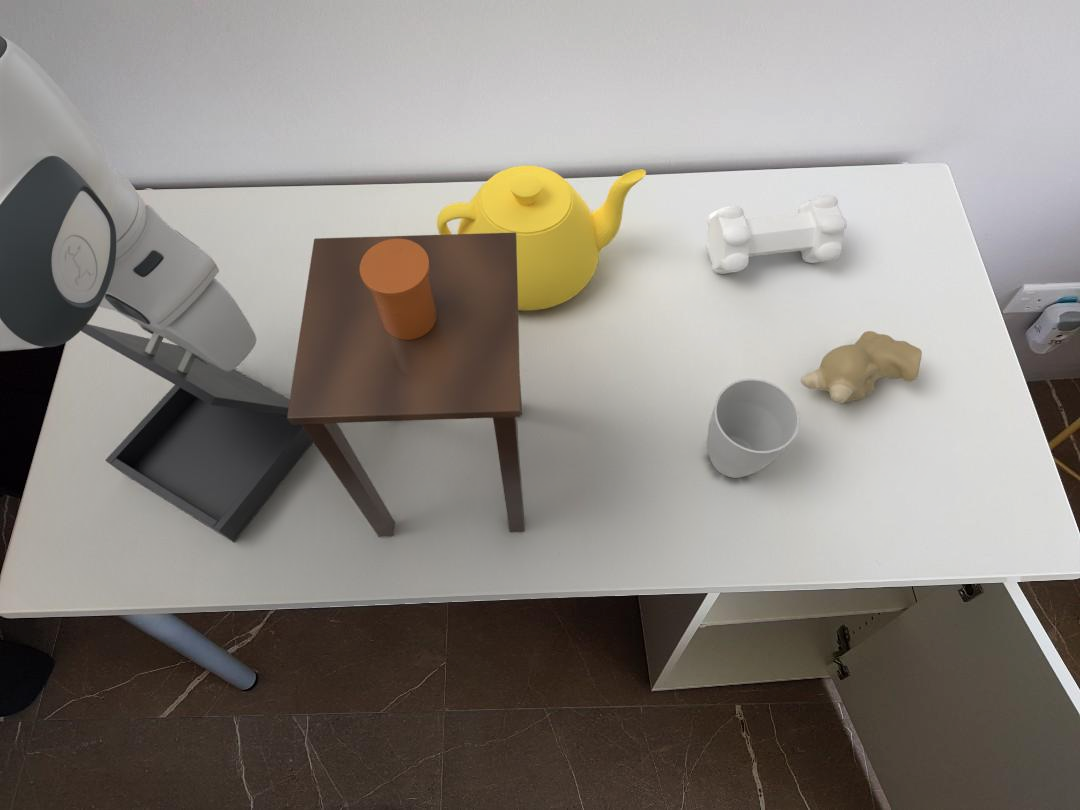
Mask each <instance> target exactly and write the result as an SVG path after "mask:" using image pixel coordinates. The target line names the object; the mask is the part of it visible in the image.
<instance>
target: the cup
mask: <svg viewBox="0 0 1080 810" xmlns="http://www.w3.org/2000/svg"><path fill="white" fill-rule="evenodd" d="M799 427H800V415H799V411H798V408H797V406H796V403H795V402H794V400H793V399H792V397H791V396H790V395H789V394H788V393H787V392H786V391H785V390H784V389H782V388H781V387H780V386H779V385H777V384H775V383H772V382H770V381H767V380H765V379H760V378H743V379H742V378H741V379H738V380H735V381H733V382H731V383H729V384H728V385H726V386H725V387H724V388H722V390H721V391H720V392H719V393H718V395H717V397H716V400H715V403H714V406H713V409H712V413H711V416H710V418H709V423H708V429H707V442H706V443H707V451H708V455H709V459H710V462H711V464H712V466H713V467H714V469H715V470H716V471H717V472H719V473H720V474H721V475H723V476H726V477H728V478H735V479H736V478H737V479H738V478H743V477H746V476H751V475H754V474H755V473H758V472H759V471H761V470H763V469H764V468H765V467H766V466H768V465H770V464H771V463H772V462H773V461H774V460H776V459H777V458H778V457H779V456H780V455H781V454H782V452H783V451H784V450H786V448H787V447H788V446H789V445H790V443H792V442H793V440H794V439H795V437H796V436H797V433H798V431H799Z"/></svg>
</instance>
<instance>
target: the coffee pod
mask: <svg viewBox="0 0 1080 810" xmlns="http://www.w3.org/2000/svg"><path fill="white" fill-rule="evenodd" d="M429 269H430V263H429V258H428V256H427V253H426V252H425V250H424V249H423V248H422V247H421V246H420V245H418V244H417V243H415V242H412V241H410V240H406V239H390V240H386V241H382V242H380V243H378V244H376V245H374V246H373V247H371V248H370V249H369V250H368V251H367V252H366V253H365V255H364V256H363V258H362V260H361V263H360V275H361V278H362V280H363V282H364V284H365V285H366V287H367V288H368V289H370V290H371V292H372V295H373V298H374V301H375V303H376V306H377V309H378V312H379V315H380V317H381V320H382V323H383V326H384V328H385V330H386V331H387V332H388V333H389V334H390V335H392V336H393V337H395V338H398V339H403V340H412V339H416V338H419V337H422V336H424V335H425V334H427V333H428V332H429V331H430V330H431V329H432V327H433V326H434V324H435V322H436V317H437V313H436V308H435V304H434V300H433V295H432V291H431V287H430V283H429V278H428V274H429Z"/></svg>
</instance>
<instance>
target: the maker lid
mask: <svg viewBox="0 0 1080 810" xmlns="http://www.w3.org/2000/svg"><path fill="white" fill-rule="evenodd" d="M80 332H81V333H83V334H85V335H87V336H88V337H90V338H92V339H93V340H96V341H98V342H99V343H101V344H103V345H104V346H106V347H108V348H110V349H112V350H113V351H115V352H117V353H119V354H121V355H122V356H124V357H126V358H127V359H128V360H131V361H133V362H134V363H136V364H138V365H140V366H142V367H143V368H145V369H147V370H149V371H150V372H152V373H154V374H155V375H157V376H159V377H160V378H163V379H165V381H168V382H169V383H171V384H173V385H177V386H178V387H180V388H182V389H184V390H185V391H187V392H189V393H191V394H192V395H194V396H196V397H198V398H200V399H201V400H203V401H205V402H207V403H208V404H210V405H214V406H222V407H230V408H237V409H245V410H253V411H260V412H268V413H276V414H283V415H288V408H289V402H290V398H288V397H287V396H285V395H283V394H281V393H279V392H277V391H276V390H274V389H272V388H269V387H268V386H266V385H264V384H262V383H261V382H259V381H257V380H255V379H253V378H251V377H249V376H248V375H246V374H244V373H242V372H240V371H239V370H237V369H236V368H235V369H233V370H232V371H228V372H227V371H224V370H222V369H220V368H218V367H217V366H215V365H213V364H211V365H207V364H205V363H204V362H202V361H200V360H198V359H197V358H195V357H194V355H193V354H192V353H191V352H189V351H188V350H186V349H184V348H182V347H180V346H178V345H177V344H175V343H169V342H165V341H163V340H164V339H165V338H164V337H162V336H160V335H158V334H156V333H155V332H154V333H153V334H151V337H150V338H149V337H143V336H139V335H136V334H131V333H127V332H123V331H118V330H116V329H115V330H114V329H110V328H106V327H101V326H99V325H98V326H97V325H93V324H89V323H87V324H86V326H85V327H84V328H83V329H82V330H81V331H80Z"/></svg>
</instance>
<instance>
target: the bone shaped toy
mask: <svg viewBox="0 0 1080 810" xmlns="http://www.w3.org/2000/svg"><path fill="white" fill-rule="evenodd" d="M838 203H839V200H838V198H837V197H836V196H834V195H830V194H828V195H827V194H824V195H818V196H817V197H814V198H813V199H808V200H805V201H803V202H802V203H801V204H800V205H799V206H798V209H797V213H790V214H780V215H773V216H763V217H755V218H754V217H753V218H746V217H745V212H744V209H743V207H740V206H739V205H727V206H723V207H721V208H719V209H717V210H715V211H713V212H711V213H710V214H709V215H708V217H707V219H706V220H707V221H706V222H707V241H706V243H705V249H706V251H707V252H708V255H709V259H710V261H711V264H712V266H711V269H712V272H714V273H716V274H720V275H721V274H723V275H725V274H731V273H737V272H741V271H743V270H745V268H747V266H748V264H749V261H750V260H749V259H750V258H749V257H758V256H767V255H775V254H785V253H792V252H794V253H795V252H800V254H801V258H802V260H803V261H804V262H805V263H808V264H817V263H822V262H830V261H834V260H836V259H838V258H839V257H840V256H841V255H842V252H843V240H844V233H845V230H846V228H847V226H848V222H847V220H846V218H845V217H844V215H843V214H842V211H841V209H840V207H839V204H838Z"/></svg>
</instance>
